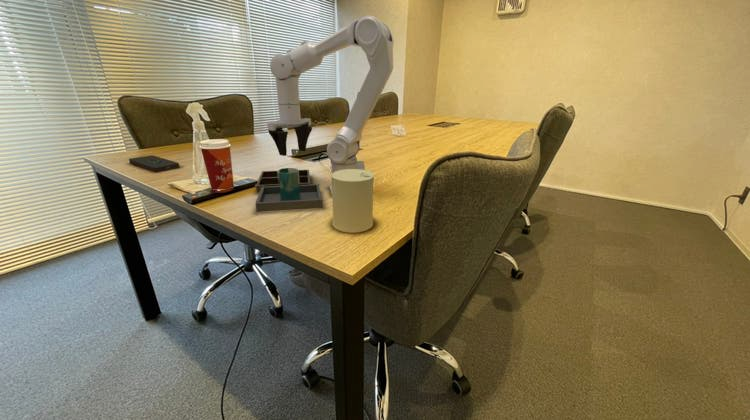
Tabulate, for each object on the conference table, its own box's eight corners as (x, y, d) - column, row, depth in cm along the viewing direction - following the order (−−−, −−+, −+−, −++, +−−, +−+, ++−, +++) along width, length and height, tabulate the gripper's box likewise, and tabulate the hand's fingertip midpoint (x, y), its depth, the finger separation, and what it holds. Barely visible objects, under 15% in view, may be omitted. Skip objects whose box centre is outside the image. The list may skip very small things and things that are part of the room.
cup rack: (309, 176, 101) (308, 169, 100) (310, 191, 88) (310, 183, 87) (262, 178, 98) (261, 171, 97) (257, 193, 85) (255, 185, 84)
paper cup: (226, 196, 82) (217, 144, 77) (201, 193, 84) (191, 142, 78) (243, 187, 90) (236, 139, 84) (220, 185, 91) (212, 137, 85)
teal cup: (300, 196, 83) (298, 167, 79) (300, 203, 78) (298, 172, 75) (280, 197, 82) (277, 168, 78) (279, 204, 77) (276, 173, 74)
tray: (319, 192, 87) (319, 184, 86) (322, 209, 76) (322, 199, 75) (262, 195, 84) (261, 186, 83) (256, 213, 73) (255, 203, 72)
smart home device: (153, 167, 100) (127, 158, 110) (155, 172, 101) (128, 163, 110) (180, 162, 107) (152, 154, 116) (181, 167, 107) (153, 159, 117)
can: (369, 234, 64) (370, 180, 59) (327, 230, 65) (324, 177, 60) (376, 217, 72) (377, 168, 68) (338, 213, 74) (337, 165, 69)
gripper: (297, 102, 91) (300, 147, 96) (257, 104, 80) (263, 155, 85) (315, 103, 88) (317, 150, 93) (275, 106, 76) (281, 159, 82)
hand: (292, 152), depth 89 cm, fingers open, 7 cm apart
